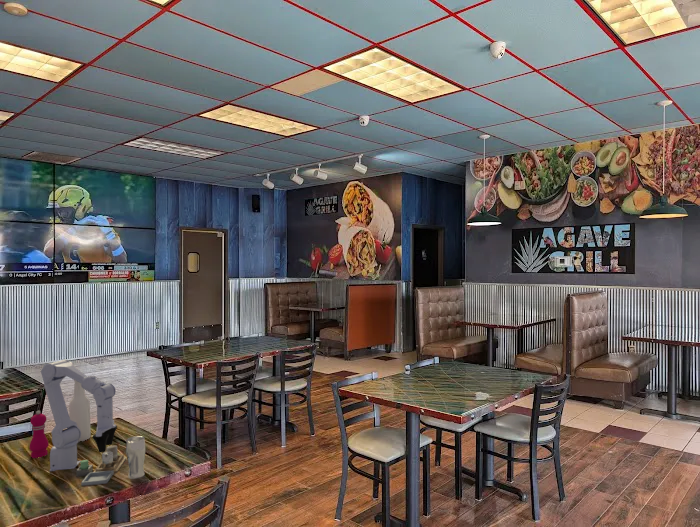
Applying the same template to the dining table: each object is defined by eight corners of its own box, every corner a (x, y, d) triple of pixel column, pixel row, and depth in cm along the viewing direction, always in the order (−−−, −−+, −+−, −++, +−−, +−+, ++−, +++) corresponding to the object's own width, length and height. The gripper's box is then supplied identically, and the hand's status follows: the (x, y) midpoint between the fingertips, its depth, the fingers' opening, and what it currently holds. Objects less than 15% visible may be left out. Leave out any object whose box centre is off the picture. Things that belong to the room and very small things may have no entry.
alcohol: (73, 437, 245) (71, 375, 245) (92, 435, 247) (91, 374, 247) (67, 443, 236) (65, 379, 236) (87, 441, 238) (86, 378, 238)
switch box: (76, 477, 198) (76, 470, 198) (80, 473, 203) (80, 465, 203) (89, 476, 199) (88, 469, 199) (92, 472, 203) (92, 464, 203)
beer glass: (134, 482, 193) (133, 443, 193) (123, 478, 197) (122, 440, 197) (149, 475, 199) (148, 437, 199) (138, 471, 203) (137, 434, 203)
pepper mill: (25, 457, 220) (24, 412, 220) (41, 451, 227) (40, 407, 226) (37, 459, 217) (36, 413, 217) (52, 453, 224) (51, 409, 224)
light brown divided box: (92, 475, 200) (92, 457, 200) (103, 461, 214) (103, 445, 214) (117, 473, 201) (116, 455, 201) (126, 459, 215) (125, 443, 215)
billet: (100, 470, 202) (100, 455, 202) (103, 466, 206) (103, 451, 206) (111, 469, 203) (111, 454, 203) (114, 465, 206) (114, 451, 206)
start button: (79, 473, 199) (79, 463, 199) (82, 470, 202) (81, 460, 202) (87, 472, 200) (87, 462, 200) (89, 469, 202) (89, 459, 202)
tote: (81, 487, 190) (81, 482, 190) (89, 477, 199) (89, 472, 199) (106, 484, 191) (106, 480, 191) (113, 474, 200) (113, 470, 200)
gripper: (108, 420, 197) (109, 454, 197) (121, 409, 211) (122, 441, 212) (89, 421, 196) (90, 455, 196) (103, 409, 211) (104, 442, 211)
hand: (105, 448), depth 204 cm, fingers open, 7 cm apart
